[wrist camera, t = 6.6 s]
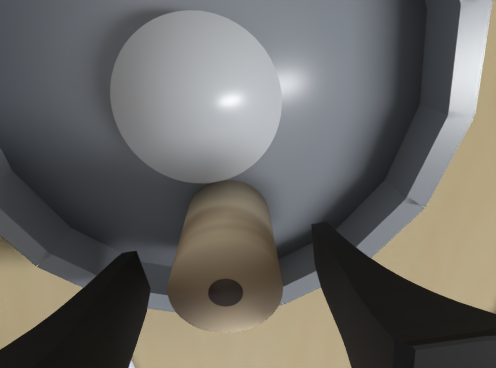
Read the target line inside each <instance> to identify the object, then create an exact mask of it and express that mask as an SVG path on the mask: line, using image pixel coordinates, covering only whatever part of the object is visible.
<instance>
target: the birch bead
mask: <svg viewBox="0 0 496 368" xmlns="http://www.w3.org/2000/svg"><path fill="white" fill-rule="evenodd" d="M167 292H168V297H169V301H170V303H171V305H172V307H173V309H174V310H175V312H176V313H177V314H178V315H179V316H180V317H181V318H182V319H184V320H185V321H186V322H188V323H189V324H191V325H193V326H195V327H198V328H200V329H203V330H207V331H211V332H219V333H231V332H239V331H244V330H247V329H250V328H252V327H255V326H257V325H259V324H261V323H262V322H264V321H265V320H267V319H268V318H269V317H270V316H271V315H272V314H273V313H274V312H275V310H276V309H277V307H278V306H279V304H280V302H281V299H282V295H283V283H282V277H281V272H280V267H279V261H278V256H277V251H276V245H275V240H274V235H273V229H272V224H271V218H270V213H269V208H268V205H267V202H266V201H265V199H264V197H263V196H262V195H261V193H260V192H258V191H257V190H256V189H255V188H253V187H252V186H250V185H248V184H246V183H243V182H240V181H235V180H223V181H218V182H213V183H210V184H208V185H206V186H204V187H203V188H202V189H200V190H199V191H198V192H197V193H196V194H195V195H194V197H193V198H192V200H191V202H190V204H189V207H188V211H187V214H186V218H185V222H184V225H183V229H182V233H181V236H180V240H179V244H178V247H177V251H176V255H175V258H174V262H173V266H172V269H171V273H170V277H169V281H168V287H167Z"/></svg>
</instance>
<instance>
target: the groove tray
mask: <svg viewBox="0 0 496 368" xmlns="http://www.w3.org/2000/svg"><path fill="white" fill-rule="evenodd" d="M492 1H493V0H0V236H1V237H3V238H4V239H5V240H6V241H7V242H8V243H10V244H11V245H12V246H13V247H14V248H15V249H17V250H18V251H19V252H20V253H21V254H22V255H24V256H25V257H26V258H27V259H28V260H29V261H31V262H32V263H33V264H34V265H35V266H36V265H38V264H39V265H38V267H39V268H41V269H43V270H45V271H47V272H50V273H52V274H54V275H56V276H58V277H61V278H63V279H65V280H67V281H70V282H72V283H74V284H76V285H78V286H81V287H83V288H84V287H85V286H86V285H87V284H88V283H89V282H90V281H91V280H93V279H94V278H95V277H96V276H97V275H98V274H99V273H100V272H101V271H102V270H103V269H104V268H105V267H107V266H108V265H109V264H110V263H111V262H112V261H113V260H114V259H115V258H116V257H118V256H119V255H120V254H121V253H124V252H131V251H137V253H138V256H139V259H140V261H141V264H142V266H143V269H144V272H145V274H146V277H147V280H148V282H149V285H150V288H151V290H150V297H149V303H148V308H149V309H156V310H163V311H170V312H175V310H174V309H173V307H172V305H171V303H170V301H169V297H168V292H167V287H168V281H169V277H170V273H171V269H172V266H173V262H174V258H175V255H176V251H177V247H178V244H179V240H180V236H181V233H182V229H183V225H184V222H185V218H186V214H187V211H188V207H189V204H190V202H191V200H192V198H193V197H194V195H195V194H196V193H197V192H198V191H199V190H200V189H202V188H203V187H204V186H206V185H208V184H210V183H213V182H218V181H223V180H235V181H240V182H243V183H246V184H248V185H250V186H252V187H253V188H255V189H256V190H257V191H258V192H260V193H261V195H262V196H263V197H264V199H265V201H266V202H267V205H268V208H269V213H270V218H271V224H272V229H273V235H274V240H275V245H276V251H277V256H278V261H279V267H280V272H281V277H282V283H283V295H282V299H281V302H280V304H279V305H283V304H286V303H288V302H290V301H292V300H295V299H297V298H299V297H301V296H303V295H305V294H307V293H309V292H312V291H314V290H316V289H318V288H320V287H321V286H320V282H319V279H318V275H317V271H316V268H315V263H314V251H313V239H312V227H311V224H316V223H323V222H327V223H328V224H330V225H331V226H332V227H333V228H334V229H335V230H336V231H337V232H339V233H340V234H341V235H342V236H343V237H344V238H345V239H347V240H348V241H349V242H350V243H351V244H353V245H354V246H355V247H356V248H358V249H359V250H360V251H362V252H363V253H364V254H366V255H367V256H368V257H370V258H372V257H373V256H374V255H375V254H376V253H377V252H378V251H379V250H380V249H381V248H382V247H383V246H385V245H386V244H387V243H388V242H389V241H390V240H391V239H392V238H393V237H394V236H395V235H396V234H397V233H399V232H400V231H401V230H402V229H403V228H404V227H405V226H406V225H407V224H408V223H409V222H410V221H411V220H413V219H414V218H415V217H416V216H417V215H418V214H419V213H420V212H421V211H422V210H423V209H424V207H426V205H427V204H428V202H429V200H430V198H431V196H432V194H433V192H434V191H435V189H436V187H437V185H438V183H439V181H440V180H441V178H442V176H443V174H444V172H445V170H446V169H447V167H448V165H449V163H450V161H451V159H452V157H453V156H454V154H455V152H456V150H457V148H458V146H459V145H460V143H461V141H462V139H463V137H464V135H465V133H466V132H467V130H468V128H469V126H470V124H471V122H472V121H473V119H474V117H473V116H472V115H475V112H476V106H477V99H478V93H479V86H480V80H481V73H482V67H483V60H484V53H485V47H486V40H487V34H488V27H489V21H490V14H491V8H492ZM423 206H424V207H423ZM282 302H283V304H282Z"/></svg>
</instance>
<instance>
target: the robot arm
mask: <svg viewBox="0 0 496 368" xmlns="http://www.w3.org/2000/svg"><path fill="white" fill-rule="evenodd" d="M311 227H312V239H313V251H314V263H315V268H316V271H317V275H318V279H319V282H320V286H321V288H322V291H323V293H324V296H325V298H326V301H327V303H328V305H329V308H330V310H331V313H332V315H333V317H334V320H335V322H336V325H337V327H338V329H339V332H340V334H341V337H342V339H343V342H344V345H345V348H346V351H347V354H348V357H349V361H350V364H351V367H352V368H496V314H494V313H491V312H488V311H485V310H481V309H478V308H475V307H472V306H469V305H466V304H463V303H460V302H457V301H454V300H452V299H449V298H447V297H444V296H442V295H439V294H437V293H434V292H432V291H430V290H427V289H425V288H423V287H421V286H419V285H417V284H415V283H412V282H410V281H408V280H406V279H404V278H403V277H401V276H399V275H397V274H395V273H394V272H392V271H390V270H388V269H387V268H385V267H383V266H382V265H380V264H379V263H377V262H376V261H374V260H373V259H371V258H370V257H368V256H367V255H366V254H364V253H363V252H362V251H360V250H359V249H358V248H356V247H355V246H354V245H353V244H351V243H350V242H349V241H348V240H347V239H345V238H344V237H343V236H342V235H341V234H340V233H339V232H337V231H336V230H335V229H334V228H333V227H332V226H331V225H330V224H328V223H327V222H323V223H316V224H311ZM150 290H151V288H150V285H149V282H148V280H147V277H146V274H145V272H144V269H143V266H142V264H141V261H140V259H139V256H138V253H137V251H131V252H124V253H121V254H120V255H119V256H118V257H116V258H115V259H114V260H113V261H112V262H111V263H110V264H109V265H108V266H107V267H105V268H104V269H103V270H102V271H101V272H100V273H99V274H98V275H97V276H96V277H95V278H94V279H93V280H91V281H90V282H89V283H88V284H87V285H86V286H85V287H84V288H83V289H82V290H80V291H79V292H78V293H77V294H76V295H75V296H73V297H72V298H71V299H70V300H69V301H68V302H66V303H65V304H64V305H63V306H62V307H60V308H59V309H58V310H57V311H55V312H54V313H53V314H52V315H50V316H49V317H48V318H46V319H45V320H44V321H42V322H41V323H40V324H38V325H37V326H36V327H34V328H33V329H31V330H30V331H28V332H27V333H25V334H24V335H22V336H21V337H19V338H18V339H16V340H15V341H13V342H12V343H10V344H9V345H7V346H6V347H4V348H2V349H1V350H0V368H135V366H134V364H133V362H132V360H131V359H132V356H133V353H134V350H135V347H136V344H137V341H138V338H139V334H140V331H141V328H142V325H143V322H144V319H145V316H146V312H147V308H148V303H149V297H150Z"/></svg>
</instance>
